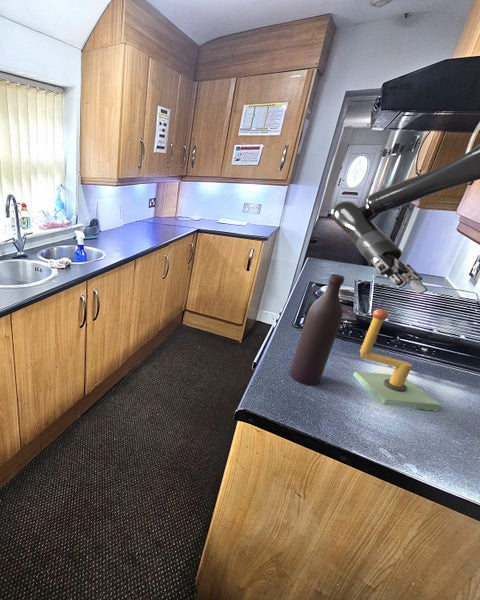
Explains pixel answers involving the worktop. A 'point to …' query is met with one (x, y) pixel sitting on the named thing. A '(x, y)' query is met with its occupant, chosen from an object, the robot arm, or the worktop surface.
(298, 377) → the wine bottle
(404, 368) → the rod
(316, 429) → the worktop surface
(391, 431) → the worktop surface
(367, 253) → the robot arm
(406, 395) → the stand
